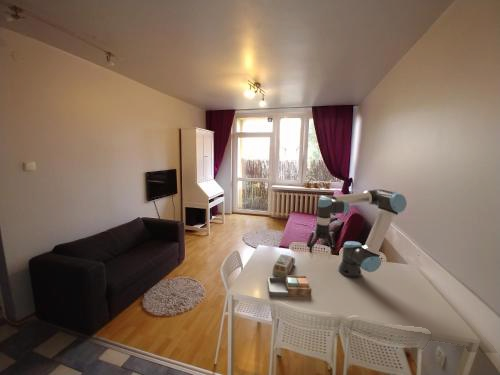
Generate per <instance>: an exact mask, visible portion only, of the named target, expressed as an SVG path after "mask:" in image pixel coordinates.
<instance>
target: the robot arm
mask: <svg viewBox="0 0 500 375" xmlns="http://www.w3.org/2000/svg"><path fill="white" fill-rule="evenodd" d="M317 202H318V203H317V214H316V227H315V231H313V230H311V231H310V234H309V238H308V240H307V243H306V246H307V248H308V251H309V253H310V258H311V260H312V259H314V248H313V247H314V246H315V244H316V243H317V241H318V240H320V239H325V240H326V242H327V244H328V249H327V259H328V260H331V254H333V250H334V249H336V248H337V245H336V241H335V233H334V232H333V231H330V226H331V225H330V223H331V215H333V214H334V215H336V214H348V213H349V212H350V210H351V208H350V207H351V206H355V205H373V206H377V210H378V213H377V216H376V218H375V221H374V223H373V224H372V227H371V230H370V231H369V234H368V237H367V239H366V241H365V244H364V245H362V244H363V243H360V242H359V241H354V240H353V241H352V240H348V241H345V242H344V243H343V247H342V260H341V262H340V264H339V265H338V272H339V273H340V275H341V276H345V277H347V278H353V279H357V278H361V276H362V270H363V271H365V272H368V273H373V272H376V271H377V270H378V269H379V268H380V267H381V265H382V260H381V258H380V256H381V252H380V251H379V250H380V249H381V247H382V244H383V242H384V240H385V238H386V235H387V233H388V230H389V228H390V226H391V224H392V221H393V218H394V217H397V216H398V215H399V213H402V212H403V211H405V210H406V208H407V199H406V196H404V195H403V194H402V193H399V192H397V191H390V190H385V189H371V190H370V189H369V190H364V191H363V192H358V193H350V194H349V193H348V194H340V195H339V194H338V195H329V196H327V195H320V197H318V201H317ZM329 235H330V239H331V241H330V239H329V237H328V236H329Z"/></svg>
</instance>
